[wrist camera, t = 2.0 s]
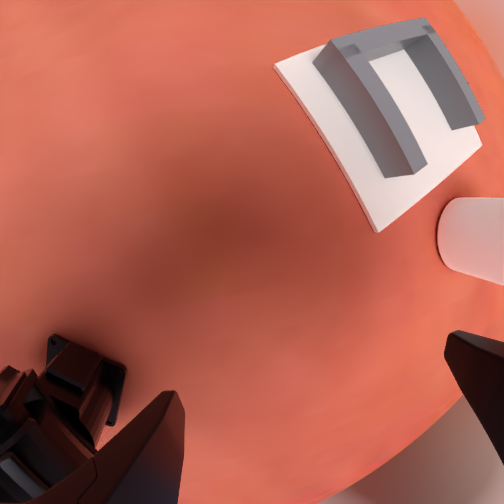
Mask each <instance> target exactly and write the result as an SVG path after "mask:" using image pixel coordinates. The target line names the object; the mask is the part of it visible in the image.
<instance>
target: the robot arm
mask: <svg viewBox="0 0 504 504" xmlns="http://www.w3.org/2000/svg"><path fill="white" fill-rule="evenodd" d="M53 339H54V340H55V341H56V343H55V342H54V341H53ZM444 357H445V360H446V362H447V364H448V366H449V368H450V370H451V372H452V374H453V376H454V377H455V379H456V381H457V383H458V386H459V387H460V389H461V391H462V393H463V394H464V396H465V398H466V399H467V401H468V402H469V404H470V406H471V407H472V409H473V411H474V412H475V414H476V416H477V417H478V419H479V421H480V423H481V424H482V426H483V428H484V429H485V431H486V433H487V435H488V436H489V438H490V440H491V442H492V444H493V446H494V447H495V449H496V451H497V453H498V455H499V457H500V459H501V461H502V463H503V465H504V342H501V341H497V340H493V339H490V338H486V337H482V336H479V335H475V334H471V333H468V332H464V331H460V330H457V331H454V332H452V333H450V334H449V335H448V337H447V342H446V346H445V351H444ZM118 370H121V371H122V373H120V372H118ZM126 374H127V370H126V368H125V367H124V366H123V365H121V364H119V363H116V362H114V361H112V360H109V359H107V358H104V357H102V356H100V355H99V354H97V353H95V352H92V351H90V350H88V349H86V348H84V347H82V346H79V345H77V344H75V343H73V342H70V341H68V340H66V339H64V338H62V337H60V336H58V335H56V334H52V335H51V336H50V337H49V338H48V347H47V361H46V368H45V369H44V371H43V372H42V373H41V374H40V375H39V376H37V374H36V373H35V371H34V370H33V368H32V369H29V370H27V371H25V372H24V371H23V372H20V371H19V370H18V371H17V370H16V369H14V368H13V367H11V366H9V365H8V366H6V367H4V368H3V369H2V370H1V371H0V504H177V503H178V496H179V488H180V481H181V473H182V466H183V459H184V430H185V411H184V408H183V405H182V403H181V401H180V398H179V396H178V394H177V392H176V391H174V390H170V391H162V392H161V393H160V394H159V395H158V396H157V397H156V398H155V399H154V400H153V401H152V402H151V403H150V404H148V405H147V406H146V407H145V408H144V409H143V410H142V411H141V412H140V413H139V414H138V415H137V416H136V417H135V418H134V419H133V420H132V421H130V422H129V423H128V424H127V425H126V426H125V427H124V428H123V429H122V430H121V431H120V432H119V433H118V434H116V435H115V436H114V437H113V438H112V439H111V440H110V441H109V442H108V443H107V444H105V445H104V446H103V447H102V448H101V449H100V450H99V451H97V450H96V446H97V443H98V441H99V438H100V436H101V433H102V431H103V428H104V426H105V425H108V426H114V425H115V423H116V420H117V415H118V410H119V405H120V400H121V395H122V391H123V387H124V382H125V378H126ZM109 420H110V421H109Z"/></svg>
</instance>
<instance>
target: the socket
mask: <svg viewBox="0 0 504 504" xmlns="http://www.w3.org/2000/svg"><path fill="white" fill-rule="evenodd" d="M273 69H274V70H275V71H276V73H277V74H278V75H279V77H280V78H281V79H282V81H283V82H284V83H285V85H286V86H287V87H288V89H289V90H290V92H291V93H292V94H293V96H294V97H295V99H296V100H297V101H298V103H299V104H300V106H301V107H302V109H303V110H304V112H305V113H306V115H307V116H308V118H309V119H310V121H311V122H312V124H313V125H314V127H315V128H316V130H317V131H318V133H319V134H320V136H321V138H322V139H323V141H324V142H325V144H326V146H327V147H328V149H329V150H330V152H331V154H332V155H333V157H334V159H335V160H336V162H337V164H338V166H339V167H340V169H341V171H342V172H343V174H344V176H345V178H346V179H347V181H348V183H349V185H350V187H351V188H352V190H353V192H354V194H355V196H356V198H357V199H358V201H359V203H360V205H361V207H362V209H363V211H364V213H365V215H366V217H367V219H368V221H369V223H370V225H371V227H372V229H373V231H374V232H377V233H379V232H380V231H382V230H383V229H384V228H385V227H387V226H388V225H389V224H391V223H392V222H393V221H394V220H396V219H397V218H398V217H399V216H401V215H402V214H403V213H404V212H406V211H407V210H408V209H409V208H410V207H412V206H413V205H414V204H415V203H417V202H418V201H419V200H420V199H421V198H423V197H424V196H425V195H426V194H427V193H429V192H430V191H431V190H432V189H433V188H435V187H436V186H437V185H438V184H439V183H440V182H442V181H443V180H444V179H445V178H446V177H447V176H449V175H450V174H451V173H452V172H453V171H454V170H455V169H456V168H458V167H459V166H460V165H461V164H462V163H463V162H464V161H465V160H467V159H468V158H469V157H470V156H471V155H472V154H473V153H474V152H475V151H476V150H478V149H479V148H480V147H481V146H482V143H481V141H480V139H479V136H478V134H477V131H476V129H475V127H474V125H477V124H480V123H481V122H482V121H483V120H485V117H484V114H483V112H482V110H481V108H480V106H479V104H478V102H477V100H476V98H475V96H474V94H473V92H472V90H471V88H470V86H469V84H468V82H467V81H466V79H465V77H464V75H463V73H462V72H461V70H460V68H459V67H458V65H457V63H456V62H455V60H454V58H453V57H452V55H451V54H450V52H449V50H448V49H447V47H446V46H445V44H444V43H443V41H442V40H441V39H440V37H439V36H438V34H437V33H436V31H435V30H434V29H433V27H432V26H431V25H430V23H429V22H428V21H427V19H426V18H419V19H413V20H407V21H402V22H396V23H391V24H387V25H382V26H378V27H374V28H370V29H366V30H362V31H358V32H354V33H351V34H347V35H344V36H341V37H337V38H334V39H331V40H330V41H329V42H328V43H327V44H325V45H322V46H319V47H317V48H314V49H311V50H308V51H306V52H303V53H300V54H298V55H295V56H293V57H290V58H288V59H285V60H283V61H280V62H278V63H276V64H274V66H273Z"/></svg>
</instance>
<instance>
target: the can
mask: <svg viewBox="0 0 504 504" xmlns="http://www.w3.org/2000/svg"><path fill="white" fill-rule="evenodd" d="M437 244H438V249H439V253H440V255H441V258H442V260H443V262H444V263H445V264H446V266H447V267H449V268H450V269H452V270H455V271H458V272H461V273H464V274H468V275H471V276H474V277H477V278H481V279H484V280H487V281H490V282H494V283H497V284H500V285H503V286H504V198H484V197H460V198H455V199H453V200H451V201H450V202H449V203H448V204H447V206H446V207H445V209H444V210H443V212H442V214H441V216H440V219H439V223H438V228H437Z"/></svg>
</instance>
